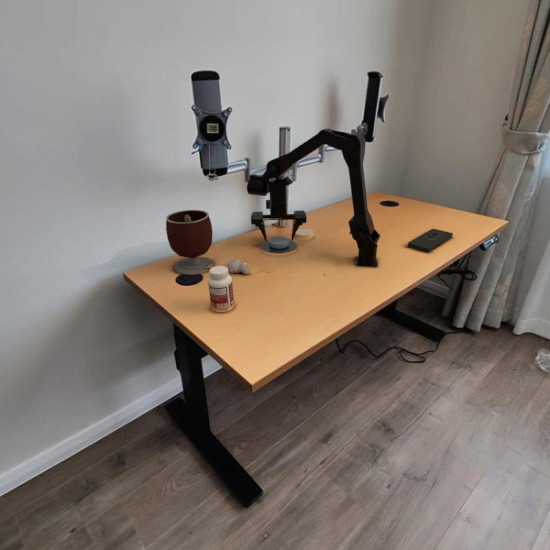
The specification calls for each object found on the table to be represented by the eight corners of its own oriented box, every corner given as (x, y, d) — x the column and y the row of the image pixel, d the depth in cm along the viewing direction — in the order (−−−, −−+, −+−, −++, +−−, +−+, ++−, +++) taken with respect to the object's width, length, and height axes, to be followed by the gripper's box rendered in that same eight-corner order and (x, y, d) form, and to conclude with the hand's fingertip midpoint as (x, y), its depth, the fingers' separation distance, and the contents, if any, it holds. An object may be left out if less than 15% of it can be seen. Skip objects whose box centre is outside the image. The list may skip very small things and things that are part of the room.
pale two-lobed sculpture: (226, 273, 117) (237, 264, 119) (242, 281, 112) (253, 271, 114) (221, 263, 114) (233, 254, 117) (237, 270, 109) (249, 260, 112)
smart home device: (454, 232, 136) (429, 248, 124) (453, 237, 137) (428, 253, 125) (432, 227, 141) (406, 242, 129) (431, 232, 142) (406, 246, 130)
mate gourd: (173, 260, 125) (163, 202, 115) (214, 255, 127) (207, 198, 118) (172, 281, 111) (161, 217, 102) (218, 275, 114) (211, 212, 105)
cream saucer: (313, 241, 137) (313, 235, 136) (294, 240, 138) (294, 235, 137) (314, 234, 143) (314, 229, 142) (296, 233, 144) (296, 228, 143)
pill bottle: (224, 298, 101) (220, 262, 96) (239, 306, 98) (236, 268, 92) (206, 307, 97) (201, 270, 92) (221, 315, 94) (217, 277, 88)
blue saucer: (287, 250, 127) (287, 244, 126) (267, 249, 128) (267, 243, 127) (290, 242, 133) (290, 236, 132) (270, 241, 134) (270, 235, 133)
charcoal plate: (295, 257, 124) (295, 254, 124) (257, 255, 126) (257, 252, 126) (299, 242, 136) (299, 239, 135) (264, 241, 138) (264, 238, 137)
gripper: (304, 190, 130) (303, 231, 137) (251, 191, 130) (253, 233, 137) (307, 198, 120) (306, 243, 127) (249, 200, 120) (252, 244, 127)
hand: (279, 240), depth 130 cm, fingers open, 9 cm apart
